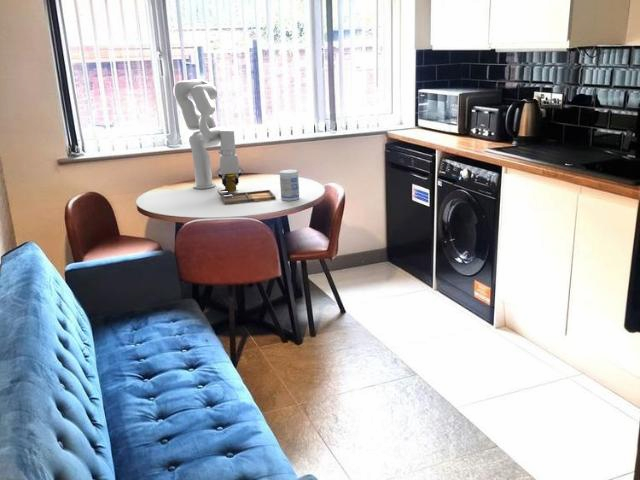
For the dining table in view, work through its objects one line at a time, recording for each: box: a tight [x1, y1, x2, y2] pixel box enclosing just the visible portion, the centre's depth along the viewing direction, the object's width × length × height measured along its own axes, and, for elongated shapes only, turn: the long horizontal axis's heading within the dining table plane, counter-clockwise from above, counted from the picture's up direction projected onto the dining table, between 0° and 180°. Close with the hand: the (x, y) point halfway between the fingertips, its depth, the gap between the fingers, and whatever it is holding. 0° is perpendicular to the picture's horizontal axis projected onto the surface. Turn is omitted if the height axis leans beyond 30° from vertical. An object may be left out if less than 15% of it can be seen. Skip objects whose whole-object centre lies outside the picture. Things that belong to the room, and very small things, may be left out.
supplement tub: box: [279, 169, 300, 202], centre depth 305 cm, size 10×10×15 cm
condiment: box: [219, 174, 239, 193], centre depth 321 cm, size 7×8×12 cm
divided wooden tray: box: [220, 189, 276, 206], centre depth 311 cm, size 16×26×2 cm, turn 105°
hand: (230, 184), depth 322 cm, fingers closed on condiment, 6 cm apart
